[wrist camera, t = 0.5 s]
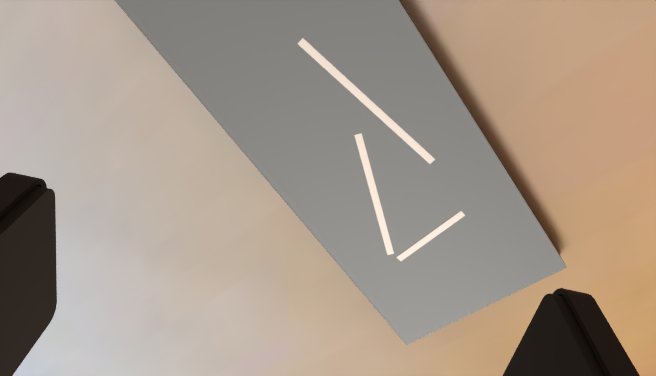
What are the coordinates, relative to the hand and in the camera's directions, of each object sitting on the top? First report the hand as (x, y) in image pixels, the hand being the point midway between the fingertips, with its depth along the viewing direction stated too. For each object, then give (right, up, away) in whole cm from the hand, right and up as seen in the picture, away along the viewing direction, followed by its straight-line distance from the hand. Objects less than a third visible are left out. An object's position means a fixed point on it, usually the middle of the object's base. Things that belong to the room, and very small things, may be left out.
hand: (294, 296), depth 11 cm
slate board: (+3, +6, +28) cm, 29 cm away
